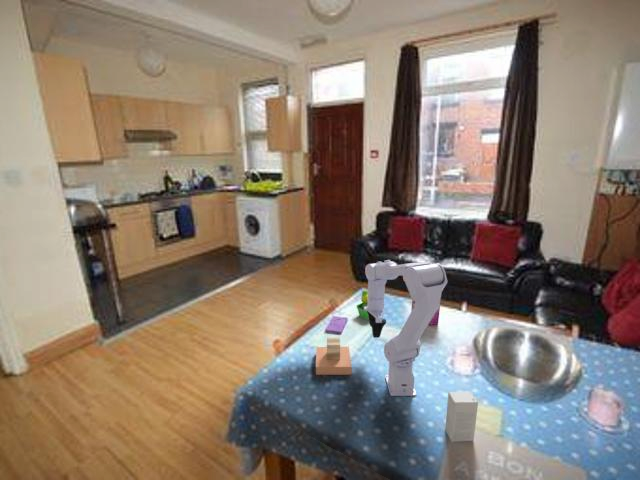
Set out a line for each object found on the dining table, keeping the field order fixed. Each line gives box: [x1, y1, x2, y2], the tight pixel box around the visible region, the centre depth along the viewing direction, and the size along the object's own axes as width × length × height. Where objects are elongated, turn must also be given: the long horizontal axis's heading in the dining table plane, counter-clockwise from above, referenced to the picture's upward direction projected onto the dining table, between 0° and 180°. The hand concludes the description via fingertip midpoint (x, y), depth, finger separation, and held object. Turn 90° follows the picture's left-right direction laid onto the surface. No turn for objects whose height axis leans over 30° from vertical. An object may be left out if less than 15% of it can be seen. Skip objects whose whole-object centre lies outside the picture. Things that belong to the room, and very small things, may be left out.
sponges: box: [324, 315, 349, 335], centre depth 144 cm, size 7×13×2 cm, turn 163°
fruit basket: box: [356, 289, 369, 321], centre depth 152 cm, size 11×9×11 cm
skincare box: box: [444, 390, 479, 443], centre depth 86 cm, size 6×4×12 cm
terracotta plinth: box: [315, 346, 353, 376], centre depth 117 cm, size 12×12×3 cm
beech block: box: [326, 337, 341, 360], centre depth 116 cm, size 4×4×6 cm
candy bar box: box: [410, 298, 442, 327], centre depth 144 cm, size 11×5×16 cm, turn 84°
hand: (374, 331), depth 119 cm, fingers open, 7 cm apart
